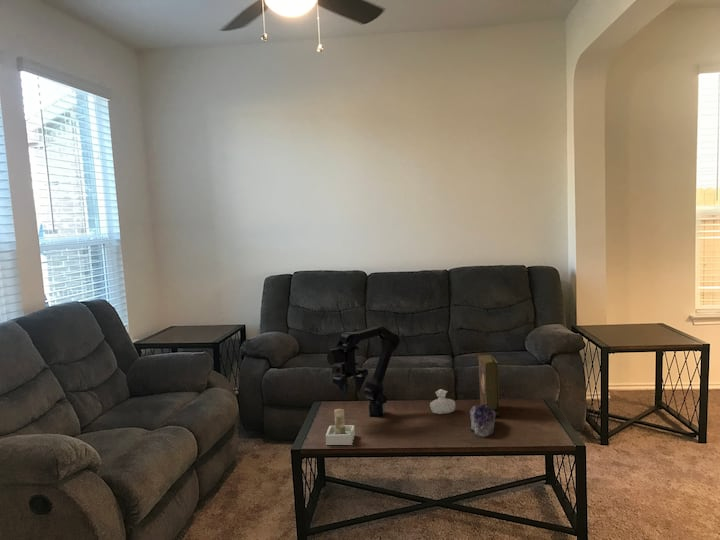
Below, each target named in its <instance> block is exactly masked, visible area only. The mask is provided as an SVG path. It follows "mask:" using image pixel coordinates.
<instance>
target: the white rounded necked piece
mask: <svg viewBox="0 0 720 540" xmlns="http://www.w3.org/2000/svg"><path fill="white" fill-rule="evenodd" d="M447 393H448V390H445V389H441V388H440V389H438V390H437V391H435V395H436V397H438V398H437V399H434V400H432V401H431V402H430V403H429V406H430V409H431V412H432V413H433V414H438V415H442V414H450V413H452V412H453V413H454V412H455V409H456V401H454V399H450V398H446V396H447V395H446V394H447Z"/></svg>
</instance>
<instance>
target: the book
mask: <svg viewBox="0 0 720 540" xmlns="http://www.w3.org/2000/svg"><path fill="white" fill-rule="evenodd" d="M478 376H479V381H478V382H479V402H480V404H479V405H482V404H483V405H484V404H486V405H487V406H489V407H490V409H492V410H494V411H496V417H500V415H501V414H500V412H501V410H500V388H499V385H500V384H499V362H498V361H497V360H496V359H495V358H494V356H493V355H491V354H490V353H480V354H478Z"/></svg>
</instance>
